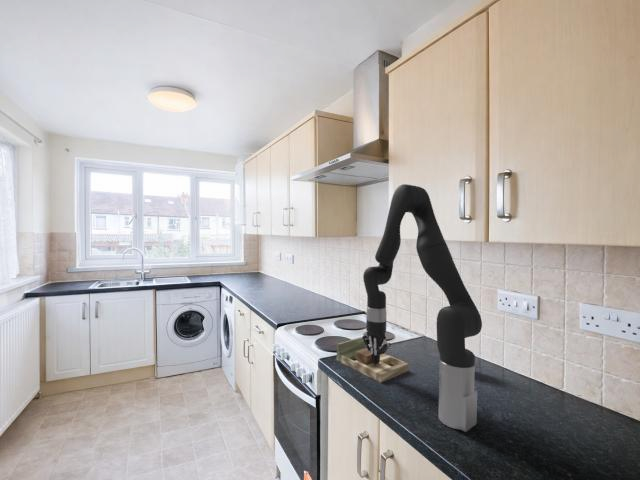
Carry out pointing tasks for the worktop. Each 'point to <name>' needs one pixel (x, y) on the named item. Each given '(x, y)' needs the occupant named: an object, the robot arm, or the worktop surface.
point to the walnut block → (364, 357)
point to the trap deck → (376, 372)
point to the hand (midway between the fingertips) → (375, 363)
